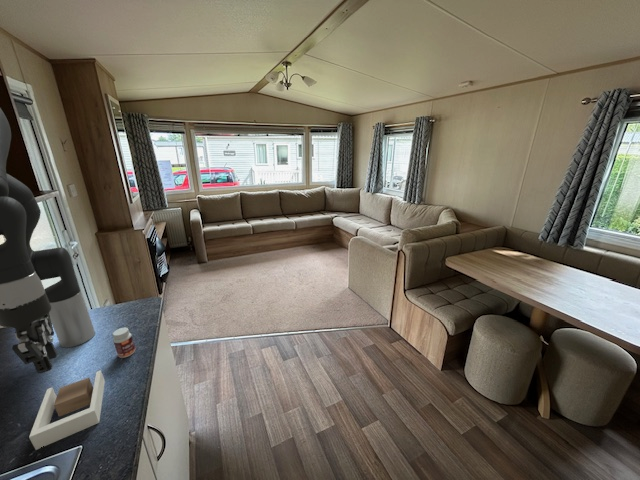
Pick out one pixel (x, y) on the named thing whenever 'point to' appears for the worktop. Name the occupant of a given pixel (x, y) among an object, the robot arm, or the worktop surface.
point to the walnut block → (73, 397)
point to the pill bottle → (123, 342)
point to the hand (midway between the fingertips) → (48, 364)
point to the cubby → (67, 426)
